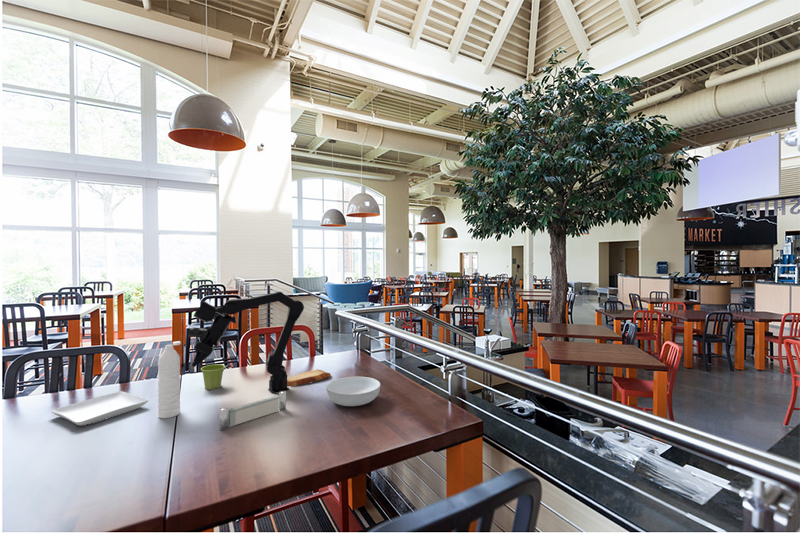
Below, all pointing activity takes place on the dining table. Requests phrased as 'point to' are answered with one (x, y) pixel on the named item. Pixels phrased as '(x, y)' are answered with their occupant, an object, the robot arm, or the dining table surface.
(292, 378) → the bread slice
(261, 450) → the dining table surface
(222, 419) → the post
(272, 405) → the bar
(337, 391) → the serving bowl
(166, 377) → the water bottle
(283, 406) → the hinge post
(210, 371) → the plant pot
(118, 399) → the salad plate
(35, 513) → the dining table surface
